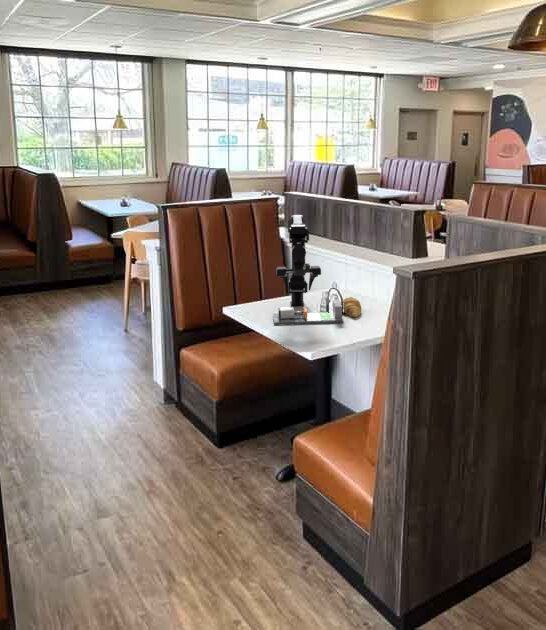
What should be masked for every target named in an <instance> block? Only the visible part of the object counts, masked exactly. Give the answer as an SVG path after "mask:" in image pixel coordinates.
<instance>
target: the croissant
mask: <svg viewBox="0 0 546 630" xmlns="http://www.w3.org/2000/svg"><path fill="white" fill-rule="evenodd" d="M342 301H343V303H344V312H345V313H346V314H345V315H347V316H350V317H351V318H357V317H359V316H360V314H361V313H362V305H361V302H360V301H359V300H358V299H357V298H355V297H353V296H350V297H346V298H343V300H342Z"/></svg>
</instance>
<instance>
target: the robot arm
mask: <svg viewBox="0 0 546 630" xmlns="http://www.w3.org/2000/svg"><path fill="white" fill-rule="evenodd" d="M287 232H288V236H289V237H288V239H289V244H291V268H287V267H286V266H277V267H276V270H275V271H276V272H275V273H276V277H279V278H280V279H282V280H283V282H284V285H285V287H286V290H287V291H286V292H288V294H290V296H291V297H290V298H291V301H290V307H306V305H305V302H304V294H307V293H308V291H311V289H312V285H313V283H314V280H315V279H316V278H317V277H319V276H320V275H322V268H321V267H320V266H319V265H311V263H307V262H306V255H307V251H306V243H307V244H308V242H309V241H310V230H309V228H308V227H307V221H306V219H304V217H303V215H302V214H293V215H291V218H290V219H289V220H287ZM308 273H309V277H308V278H309V279H308V282H307V280H306V279H305V276H306V274H308ZM287 274H290V275H289V280H288V275H287Z"/></svg>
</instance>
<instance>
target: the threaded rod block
mask: <svg viewBox="0 0 546 630" xmlns="http://www.w3.org/2000/svg"><path fill="white" fill-rule="evenodd" d="M278 313H279V318H294V314H303V313H304V312H303V310H295V306H290V307H286V306H285V307H279V308H278Z"/></svg>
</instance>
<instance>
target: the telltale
mask: <svg viewBox="0 0 546 630" xmlns="http://www.w3.org/2000/svg"><path fill="white" fill-rule="evenodd" d="M302 307H303V308H302V309H303V310H302V311H303V313H304V318H307V313H308V309H307V307H306V306H302Z"/></svg>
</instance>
